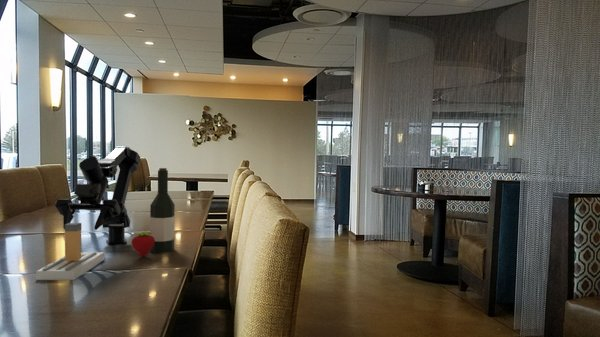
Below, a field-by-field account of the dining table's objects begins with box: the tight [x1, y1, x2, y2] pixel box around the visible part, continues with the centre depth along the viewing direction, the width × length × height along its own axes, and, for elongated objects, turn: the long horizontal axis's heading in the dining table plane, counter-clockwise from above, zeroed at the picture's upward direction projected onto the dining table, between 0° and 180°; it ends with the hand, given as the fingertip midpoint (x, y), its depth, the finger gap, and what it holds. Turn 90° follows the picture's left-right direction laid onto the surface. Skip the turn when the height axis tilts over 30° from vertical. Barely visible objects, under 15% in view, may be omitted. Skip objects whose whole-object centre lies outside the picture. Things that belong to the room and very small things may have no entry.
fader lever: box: [64, 222, 82, 261], centre depth 119 cm, size 3×4×11 cm
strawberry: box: [130, 228, 155, 258], centre depth 134 cm, size 6×8×10 cm
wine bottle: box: [149, 167, 176, 254], centre depth 143 cm, size 8×8×30 cm
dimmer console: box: [36, 251, 105, 281], centre depth 119 cm, size 20×10×3 cm, turn 5°
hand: (79, 229), depth 123 cm, fingers open, 9 cm apart
